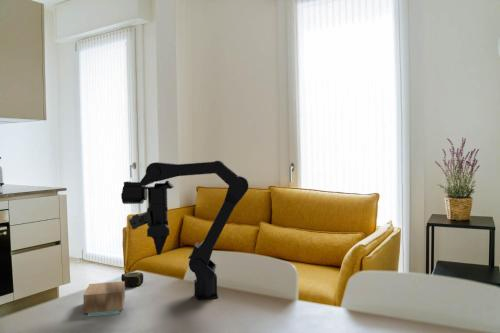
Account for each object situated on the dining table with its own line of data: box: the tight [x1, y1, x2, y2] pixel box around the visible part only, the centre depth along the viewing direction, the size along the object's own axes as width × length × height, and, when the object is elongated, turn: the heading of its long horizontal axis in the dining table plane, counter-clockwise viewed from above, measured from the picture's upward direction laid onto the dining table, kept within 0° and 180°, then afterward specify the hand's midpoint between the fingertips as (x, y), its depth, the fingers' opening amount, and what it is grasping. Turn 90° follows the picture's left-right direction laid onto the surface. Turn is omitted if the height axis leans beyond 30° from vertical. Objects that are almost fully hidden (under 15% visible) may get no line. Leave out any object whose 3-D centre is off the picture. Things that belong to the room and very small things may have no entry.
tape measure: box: [120, 271, 144, 287], centre depth 136 cm, size 7×7×4 cm
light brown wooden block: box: [83, 280, 126, 314], centre depth 117 cm, size 5×10×10 cm
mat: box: [87, 310, 121, 318], centre depth 117 cm, size 8×14×1 cm, turn 13°
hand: (158, 254), depth 124 cm, fingers closed
